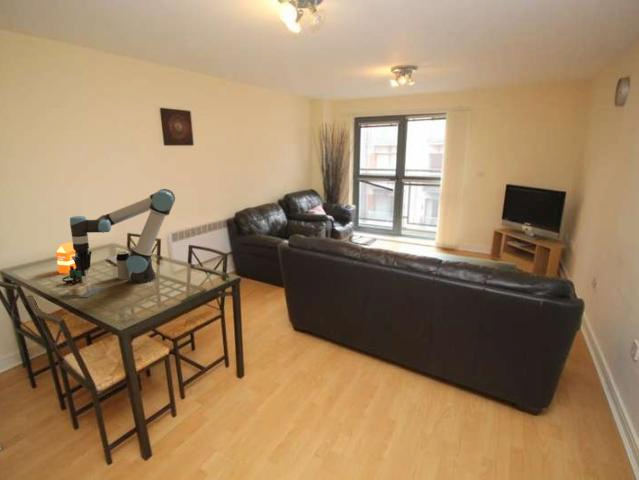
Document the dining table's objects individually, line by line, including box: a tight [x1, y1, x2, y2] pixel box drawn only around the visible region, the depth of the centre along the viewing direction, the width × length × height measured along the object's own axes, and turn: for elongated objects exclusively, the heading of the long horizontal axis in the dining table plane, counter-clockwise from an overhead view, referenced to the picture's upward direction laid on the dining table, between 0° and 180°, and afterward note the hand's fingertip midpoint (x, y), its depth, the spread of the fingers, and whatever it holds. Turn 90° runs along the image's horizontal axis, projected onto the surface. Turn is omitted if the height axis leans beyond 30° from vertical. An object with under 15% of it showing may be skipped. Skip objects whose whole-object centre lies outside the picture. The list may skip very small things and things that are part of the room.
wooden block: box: [67, 283, 91, 296], centre depth 195 cm, size 7×4×8 cm
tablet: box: [106, 254, 117, 266], centre depth 257 cm, size 16×26×2 cm, turn 51°
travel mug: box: [115, 250, 132, 280], centre depth 221 cm, size 8×8×18 cm
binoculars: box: [62, 266, 84, 286], centre depth 209 cm, size 9×11×10 cm
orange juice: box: [55, 241, 76, 274], centre depth 229 cm, size 8×9×20 cm
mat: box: [60, 286, 105, 299], centre depth 197 cm, size 16×14×1 cm
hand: (85, 280), depth 199 cm, fingers closed
